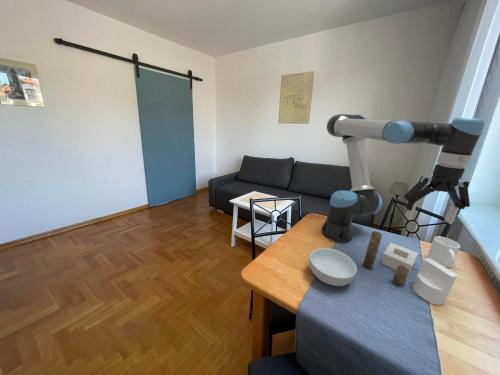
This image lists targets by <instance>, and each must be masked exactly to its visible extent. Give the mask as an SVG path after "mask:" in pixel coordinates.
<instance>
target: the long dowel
mask: <svg viewBox="0 0 500 375" xmlns="http://www.w3.org/2000/svg"><path fill="white" fill-rule="evenodd" d="M382 238H383V234H382V233H381V232H379V231H374V230H373V231H372V232H371V234H370V238H369V240H368V245H367V249H366V252H365V256H364V260H363V263H362V267H363V268H364V269H366V270H368V271H369V270H371V271H372V270H373V267H374V264H375V260H376V257H377V254H378V251H379V248H380V243H381V241H382Z"/></svg>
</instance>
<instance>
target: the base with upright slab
mask: <svg viewBox="0 0 500 375" xmlns="http://www.w3.org/2000/svg"><path fill="white" fill-rule="evenodd" d="M458 275H459V274H457V273H455V272H454V271H452V270H451V269H449V268H448V267H444V266H442V265H441V264H439V263H437V262H436V261H434V260H432V259H431V258H427V257H426V258H423V260H422V263H421V264H420V268H419V270H418V272H417V274H416V277H415V279H414V282H413V285H412V290H413V292H414V291H415V292H416V293H417V294H418V295H419V296H421V297H422V298H424V299H426V300H427V301H426V300H425V301H426V302H428V301H429V302H428V303H430V302H431V303H430V304H433V303H434V304H433V305H437V304H441V305H444V304H445V302H446V301H447V299H448V297H449V295H450V292H451V290H452V288H453V286H454V284H455V282H456V280H457V278H458ZM415 292H414V293H415ZM416 293H415V294H416ZM417 294H416V295H417ZM418 295H417V296H418ZM419 296H418V297H419ZM421 297H420V298H421ZM422 298H421V299H422ZM424 299H423V300H424Z"/></svg>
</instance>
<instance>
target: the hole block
mask: <svg viewBox="0 0 500 375" xmlns="http://www.w3.org/2000/svg"><path fill="white" fill-rule="evenodd" d="M418 254H419V253H418V252H417V251H415V250H412V249H408V248H406V247H404V246H401V245H398V244H395V243H394V242H390V243H389V244H388V246H387V248H386V249H385V251H384V252H383V254H382V256H381V260H380V264H381V265H384V266H387V267H389V268H390V269H392V270H395V271H396V269H397V266H398V265H401V266H404V267H406V268H408V269H409V273H408V275H407V277H408V276H410V274H411V272H412V269H413V267H414V264H415V263H416V262H415V261H416V259H417V257H418Z"/></svg>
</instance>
